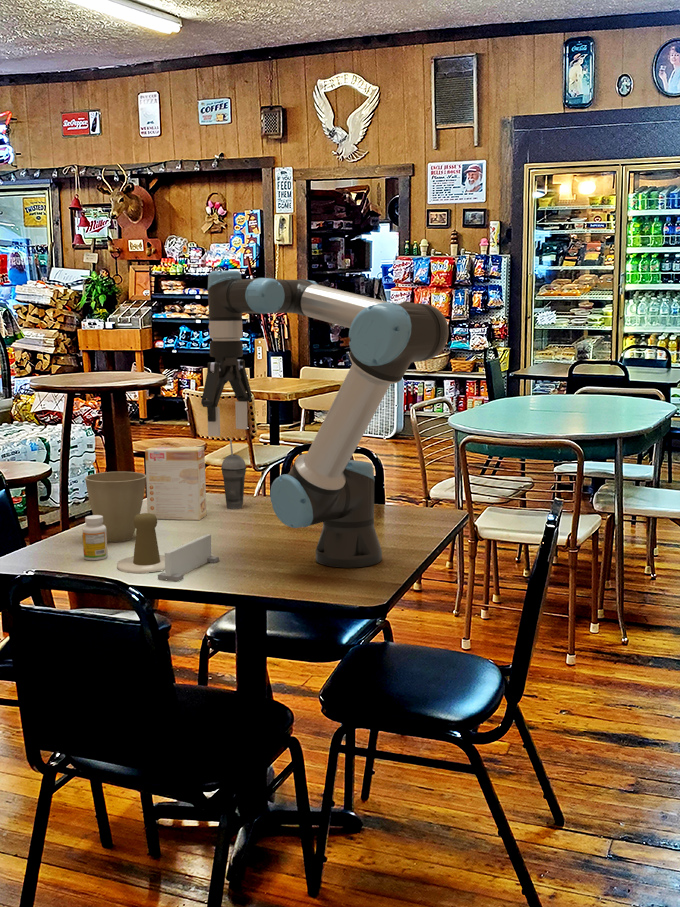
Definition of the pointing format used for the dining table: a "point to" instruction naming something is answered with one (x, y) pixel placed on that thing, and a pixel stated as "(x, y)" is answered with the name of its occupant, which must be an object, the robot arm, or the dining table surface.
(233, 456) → the beverage cup
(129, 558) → the ceramic saucer
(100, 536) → the supplement bottle
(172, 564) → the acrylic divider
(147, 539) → the brown pawn
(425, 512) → the dining table surface
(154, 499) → the coffeecake box
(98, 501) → the plant pot
